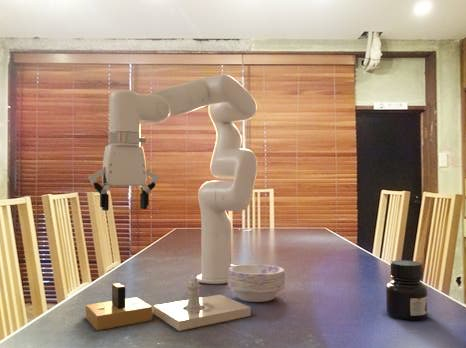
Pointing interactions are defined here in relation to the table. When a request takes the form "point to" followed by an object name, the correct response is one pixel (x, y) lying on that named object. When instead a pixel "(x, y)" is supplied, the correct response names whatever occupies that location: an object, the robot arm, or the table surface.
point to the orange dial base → (118, 313)
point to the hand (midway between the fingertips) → (124, 209)
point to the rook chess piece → (193, 296)
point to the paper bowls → (256, 281)
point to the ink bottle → (406, 291)
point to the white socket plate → (201, 312)
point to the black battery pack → (118, 295)
